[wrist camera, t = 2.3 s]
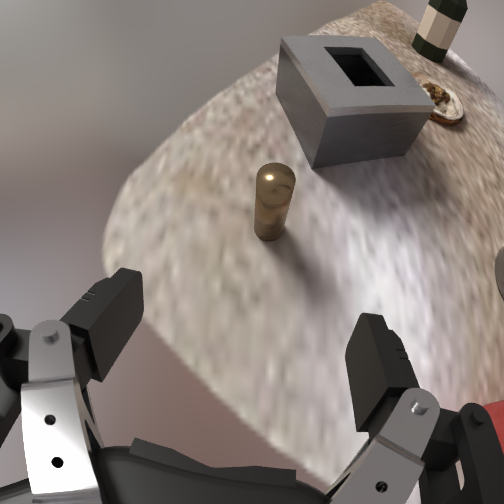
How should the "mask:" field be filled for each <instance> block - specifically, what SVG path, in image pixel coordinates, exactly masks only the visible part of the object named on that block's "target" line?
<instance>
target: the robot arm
mask: <svg viewBox="0 0 504 504" xmlns="http://www.w3.org/2000/svg"><path fill="white" fill-rule="evenodd" d="M495 273H496V280H497V284H498V288H499V290H500V293H501V295H502V297H503V299H504V247H503V248H502V249H501V250H500V251H499V253H498V254H497V258H496V264H495ZM143 311H144V301H143V281H142V274H141V272H140V271H135V270H131V269H126V268H120V269H119V270H118V271H117V272H116V273H115V274H114V275H113V276H112V277H111V278H105V279H103V280H101V281H99V282H97V283H95V284H94V285H93V286H92V287H91V288H90V289H89V290H88V292H87V293H85V294H84V295H83V296H82V298H81V299H79V300H78V301H77V302H76V304H74V306H73V307H72V308H71V309H70V310H69V311H68V312H67V313H66V314H65V315H64V316H63V317H62V318H61V319H60V320H59V321H58V320H47V321H44V322H41V323H39V324H38V325H36V326H35V327H34V328H33V329H32V331H31V330H21V329H15V328H14V325H13V322H12V319H11V318H10V317H9V316H7V315H5V314H0V448H1V445H2V444H3V442H4V440H5V438H6V437H7V435H8V433H9V431H10V430H11V428H12V426H13V424H14V423H15V421H16V419H17V418H18V416H19V414H20V413H21V411H22V423H23V435H24V444H25V452H26V459H27V465H28V472H29V478H27V479H24V480H21V481H19V482H16V483H13V484H10V485H7V486H4V487H1V488H0V504H405V503H406V501H407V499H408V498H409V496H410V494H411V492H412V490H413V488H414V486H415V485H416V483H417V481H419V488H420V497H421V504H504V454H503V451H502V447H501V444H500V441H499V439H498V436H497V433H496V430H495V427H494V425H493V422H492V419H491V417H490V415H489V413H488V412H487V410H486V409H485V408H484V407H482V406H481V405H479V404H476V403H467V404H465V405H464V406H463V407H462V408H461V410H460V411H459V412H454V411H450V410H446V409H442V408H440V406H439V403H438V401H437V399H436V398H435V397H434V396H433V395H432V394H431V393H430V392H428V391H426V390H424V389H421V388H420V387H419V384H418V381H417V379H416V376H415V373H414V371H413V368H412V365H411V363H410V360H408V355H407V353H406V352H405V348H404V345H403V343H402V341H401V339H400V338H399V337H398V336H397V334H396V333H395V332H394V331H393V330H388V327H387V325H386V322H385V320H384V317H383V316H382V315H377V314H370V313H362V314H361V315H360V316H359V319H358V321H357V324H356V326H355V328H354V331H353V333H352V336H351V338H350V340H349V342H348V345H347V348H346V354H345V361H346V367H347V373H348V379H349V385H350V391H351V397H352V403H353V410H354V417H355V424H356V431H357V432H368V433H369V439H368V440H367V441H366V442H365V444H364V445H363V446H362V448H361V449H360V450H359V452H358V453H357V455H356V456H355V457H354V459H353V460H352V461H351V462H350V464H349V465H348V466H347V468H346V469H345V470H344V471H343V473H342V474H341V475H340V476H339V478H338V479H337V480H336V481H335V482H334V483H333V484H332V485H331V486H330V487H329V488H328V489H327V491H326V492H325V493H322V492H321V491H320V490H318V489H316V488H315V487H313V486H311V485H309V484H307V483H304V482H302V481H298V480H296V470H291V469H279V468H270V467H261V466H248V467H227V468H212V467H209V466H206V465H204V464H202V463H200V462H198V461H195V460H193V459H191V458H189V457H187V456H185V455H183V454H181V453H179V452H177V451H175V450H173V449H171V448H167V447H163V446H160V445H157V444H153V443H150V442H147V441H144V440H141V439H138V438H134V441H133V443H132V445H131V446H113V447H104V444H103V441H102V439H101V436H100V433H99V430H98V427H97V423H96V420H95V415H94V412H93V408H92V403H91V399H90V394H89V390H88V386H87V384H88V382H89V380H90V379H91V378H92V379H94V380H97V381H99V382H103V380H104V379H105V377H106V375H107V374H108V372H109V371H110V369H111V367H112V366H113V364H114V362H115V361H116V359H117V357H118V356H119V354H120V353H121V351H122V349H123V348H124V346H125V345H126V343H127V342H128V340H129V339H130V337H131V335H132V334H133V332H134V331H135V329H136V328H137V326H138V325H139V323H140V321H141V319H142V316H143ZM459 460H460V461H461V465H462V470H463V474H464V486H463V488H462V490H460V484H459V479H458V474H457V470H456V465H455V463H456V462H457V461H459Z"/></svg>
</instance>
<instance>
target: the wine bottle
mask: <svg viewBox="0 0 504 504" xmlns="http://www.w3.org/2000/svg"><path fill="white" fill-rule="evenodd" d="M467 9H468V8H467V2H466V0H430V1H429V3H428V6H427V9H426V11H425V14H424V16H423V19H422V21H421V24H420V26H419V29H418V31H417V34H416V36H415V38H414V41H413V43H412V47H413V48H414V49H415V50H416V51H417V52H418V53H419V54H420V55H422V56H424V57H426V58H427V59H429V60H431V61H434V62H439V63H442V61H443V59H444V57H445V55H446V53H447V51H448V49H449V47H450V45H451V43H452V41H453V39H454V37H455V34H456V32H457V30H458V28H459V26H460V24H461V22H462V20H463V18H464V16H465V13H466V11H467Z"/></svg>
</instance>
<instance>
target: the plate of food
mask: <svg viewBox="0 0 504 504" xmlns="http://www.w3.org/2000/svg"><path fill="white" fill-rule="evenodd" d="M410 74H411V75H412V76H413V77H414V79H415V80H416V81H417V82H418V83H419V85H420V86H421V87H422V88H423V89H424V91H425V92H426V93H427V94H428V96H429V97H430V98H431V99H432V101H433V102H434V103H435V105H436V107H435V108H434V110H433V112H432V113H431V115H430V117H429V118H430V119H433V120H434V121H437V122H438V123H441V124H445V125H447V126H455V125H456V124H458V123H459V122H460V120H462V119H463V116H464V109H463V105H462V103H461V101H460V99H459V98H458V96H457V95H456V94H455V93H454V92H453V91H452V90H451V89H449V88H448V87H447V86H445V85H444V84H442V83H441V82H439V81H438V80H436V79H434V78H432V77H431V76H429V75H426V74H425V73H422V72H416V71H415V72H412V73H410Z"/></svg>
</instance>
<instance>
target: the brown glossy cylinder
mask: <svg viewBox="0 0 504 504" xmlns="http://www.w3.org/2000/svg"><path fill="white" fill-rule="evenodd" d="M295 181H296V178H295V174H294V172H293V171H292V170H291V169H290V168H289V167H288V166H286V165H284V164H281V163H269V164H266V165H264V166H262V167H261V168H260V169H259V171H258V173H257V178H256V199H255V219H254V230H255V233H256V235H257V236H258V237H259V238H260V239H262V240H265V241H273V240H276V239H278V238H279V237H280V236H281V234H282V232H283V228H284V224H285V221H286V217H287V213H288V209H289V205H290V201H291V198H292V194H293V190H294V186H295Z"/></svg>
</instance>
